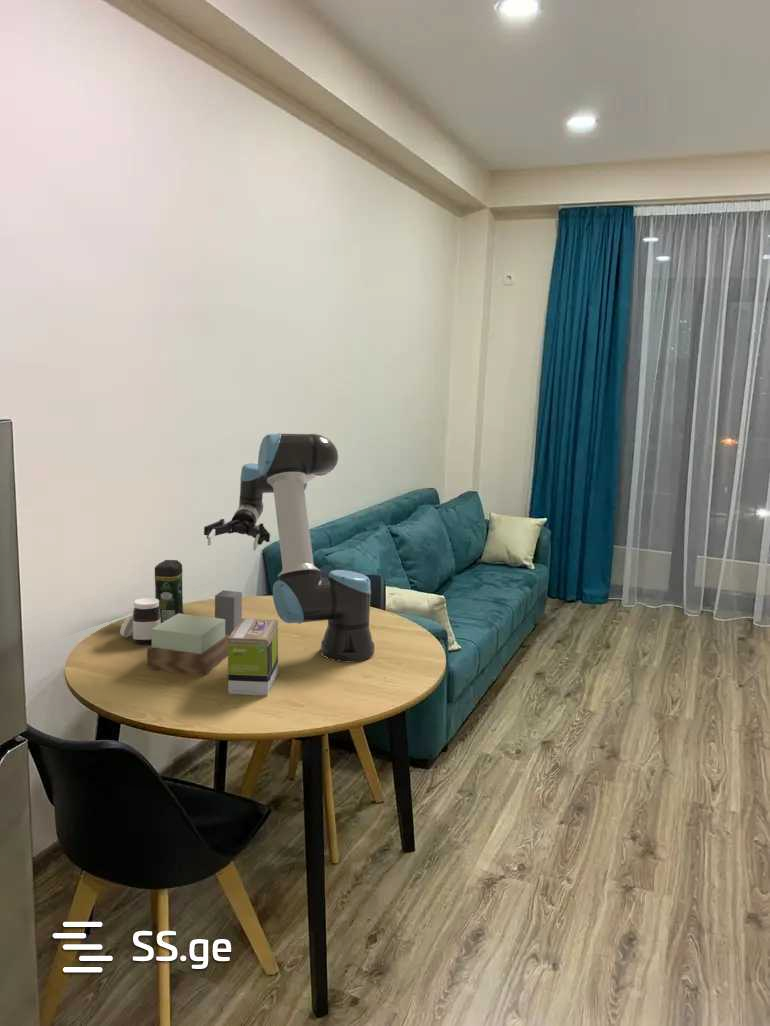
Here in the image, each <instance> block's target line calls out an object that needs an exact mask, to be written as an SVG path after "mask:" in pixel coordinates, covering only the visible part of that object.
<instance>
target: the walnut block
mask: <svg viewBox="0 0 770 1026" xmlns="http://www.w3.org/2000/svg"><path fill="white" fill-rule="evenodd" d="M229 636H230V635H225V637H224V638H223V639H221V640H220V641H219V642H217V643H216V644H214V645H213V646H212V647H210V648H209V649H208V650H206V651H205V652H203V653H202V654H197V653H189V652H182V651H175V650H168V649H160V648H153V647H152V645H150V646H149V647H148V648H147V649H146V652H147V653H146V655H147V656H146V657H147V659H146V660H147V670H153V671H161V672H169V673H178V674H186V675H193V674H195V675H194V676H196V675H197V676H202V675H204V676H203V677H205V676H208V674H209V673H211V670H212V669H213V668H214V667H215V668H216V667H217V666H219V664H221V663H222V662H223V661H224V660H225V659H226V658H228V638H229ZM223 659H224V660H223ZM222 660H223V661H222ZM221 661H222V662H221ZM220 662H221V663H220ZM215 668H214V669H215ZM214 669H213V670H214ZM213 670H212V671H213Z"/></svg>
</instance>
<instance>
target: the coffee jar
mask: <svg viewBox="0 0 770 1026" xmlns="http://www.w3.org/2000/svg"><path fill="white" fill-rule="evenodd" d="M154 584H155V585H154V587H155V588H154V595H155V596H154V598H156V599H158V600H159V608H160V611H161V623H163V622H164V621H166V620H168V619H170V618H171V617H173V616H175V615H176V614H178V613H180V614H184V606H183V601H184V600H183V598H184V597H183V564H182V563H181V562H180V561H179V560H177V559H165V560H163V561H162V562H160V563H158V564H156V566H154Z"/></svg>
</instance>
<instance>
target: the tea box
mask: <svg viewBox="0 0 770 1026" xmlns="http://www.w3.org/2000/svg"><path fill="white" fill-rule="evenodd" d="M278 673H279V619H257V618H256V619H255V618H242V619H241V620H240V622H239V623H238V624H237V626H236V627H235V629H234V630H233V632H232V633H231V635H230V636H229V638H228V656H227V678H228V679H227V680H228V681H227V684H228V685H227V686H228V690H227V691H228V694H229V695H246V696H268V695H269V693H270V691H271V689H272V686H273V684H274V682H275V680H276V678H277V676H278Z"/></svg>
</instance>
